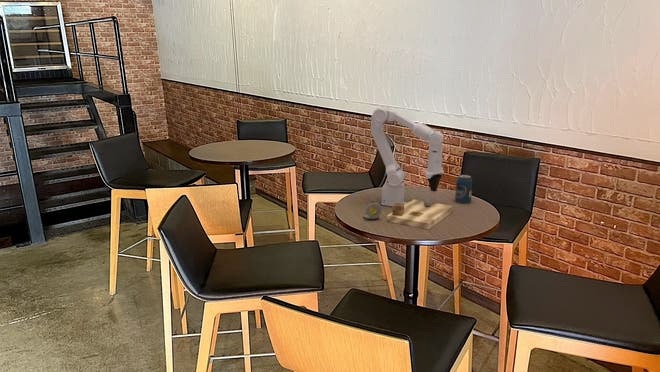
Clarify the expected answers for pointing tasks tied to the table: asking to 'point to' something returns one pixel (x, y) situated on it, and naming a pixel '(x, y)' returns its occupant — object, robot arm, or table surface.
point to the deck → (421, 214)
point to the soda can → (463, 189)
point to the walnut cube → (398, 209)
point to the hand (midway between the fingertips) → (433, 191)
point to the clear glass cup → (373, 210)
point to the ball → (427, 202)
